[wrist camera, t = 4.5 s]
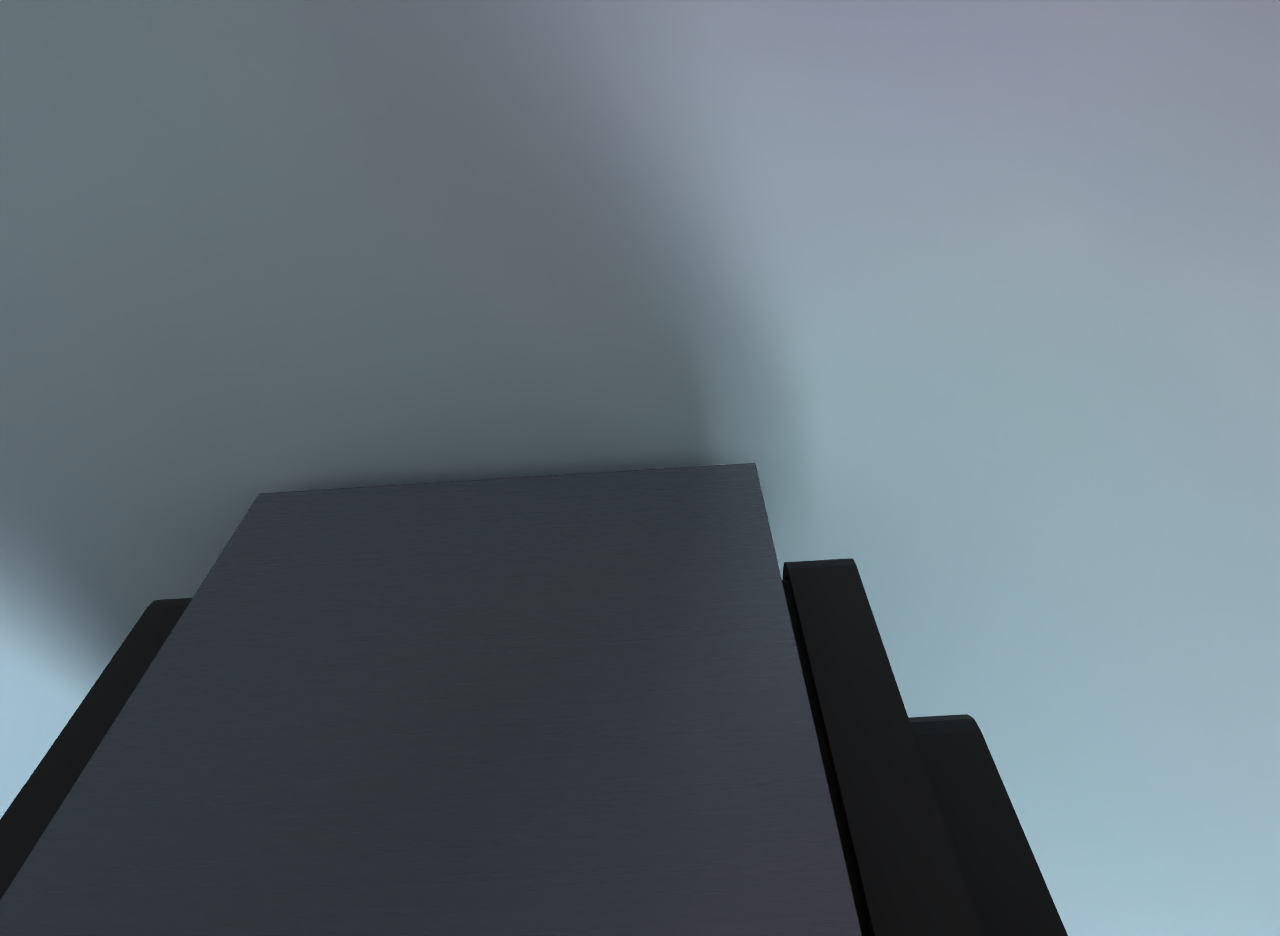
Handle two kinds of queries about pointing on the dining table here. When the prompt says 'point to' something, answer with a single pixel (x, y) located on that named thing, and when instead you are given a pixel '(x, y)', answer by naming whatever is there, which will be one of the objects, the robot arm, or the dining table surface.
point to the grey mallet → (464, 728)
